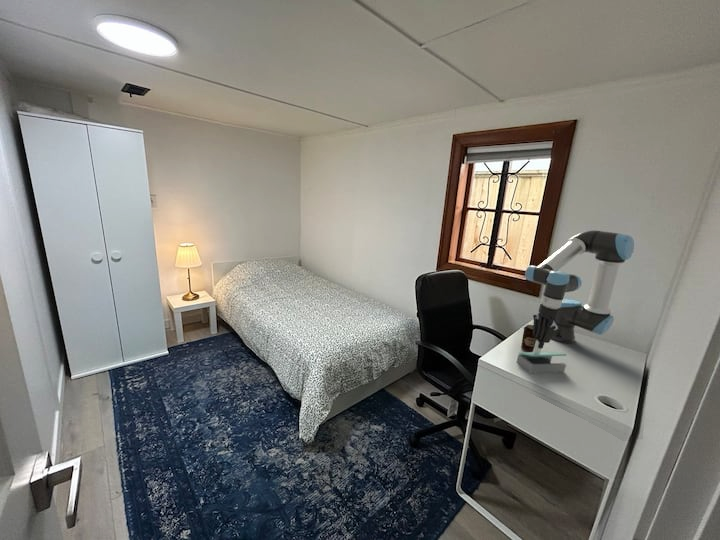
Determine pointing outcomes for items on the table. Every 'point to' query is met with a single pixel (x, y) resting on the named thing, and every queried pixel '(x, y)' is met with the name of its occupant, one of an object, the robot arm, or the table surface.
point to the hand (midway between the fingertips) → (536, 353)
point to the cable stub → (540, 361)
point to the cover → (542, 354)
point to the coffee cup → (528, 339)
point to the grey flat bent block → (540, 365)
